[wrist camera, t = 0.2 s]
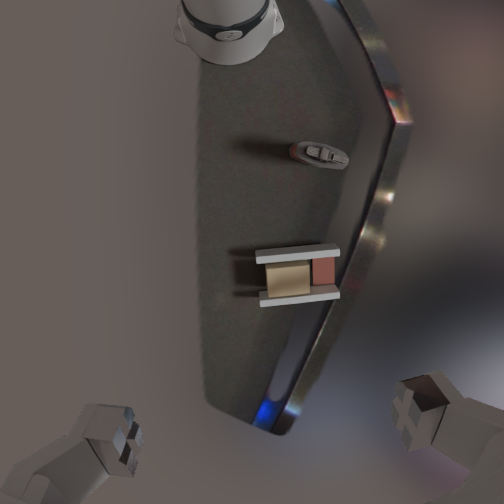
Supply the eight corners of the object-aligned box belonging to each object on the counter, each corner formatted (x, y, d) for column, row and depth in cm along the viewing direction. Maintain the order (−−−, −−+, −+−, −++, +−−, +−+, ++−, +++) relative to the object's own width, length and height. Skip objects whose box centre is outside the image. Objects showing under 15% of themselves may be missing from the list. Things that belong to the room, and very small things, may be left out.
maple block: (264, 260, 57) (266, 269, 52) (303, 256, 57) (309, 265, 52) (266, 286, 59) (268, 297, 54) (304, 282, 59) (310, 293, 54)
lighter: (287, 159, 52) (296, 159, 43) (291, 140, 51) (302, 136, 42) (332, 171, 53) (350, 174, 43) (336, 152, 52) (356, 151, 43)
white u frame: (255, 250, 57) (256, 257, 53) (333, 242, 57) (339, 249, 53) (259, 297, 59) (260, 307, 55) (333, 289, 59) (339, 298, 55)
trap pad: (312, 252, 57) (312, 253, 57) (333, 250, 57) (334, 250, 57) (312, 284, 59) (313, 285, 58) (333, 282, 59) (334, 283, 58)
